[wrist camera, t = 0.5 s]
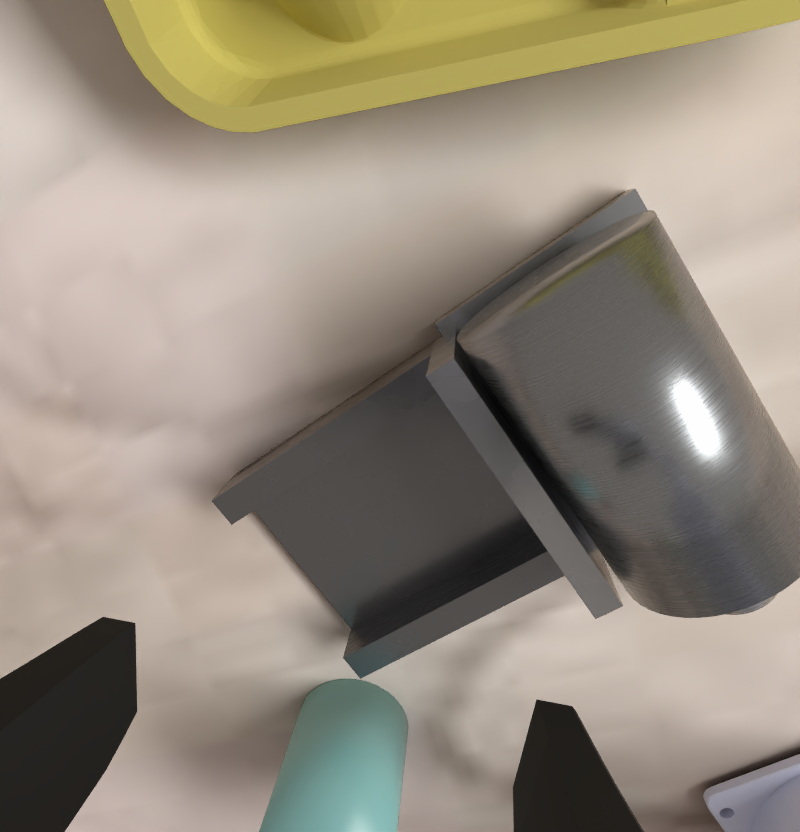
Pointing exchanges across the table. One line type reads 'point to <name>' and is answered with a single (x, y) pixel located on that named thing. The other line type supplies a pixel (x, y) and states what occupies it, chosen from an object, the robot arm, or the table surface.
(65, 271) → the table surface
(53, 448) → the table surface
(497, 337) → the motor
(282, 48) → the plastic component
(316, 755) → the teal rounded cylinder
